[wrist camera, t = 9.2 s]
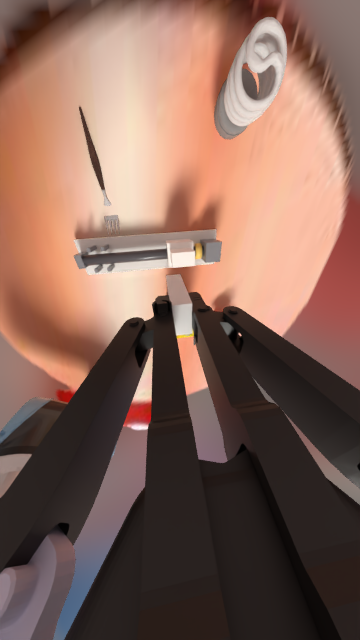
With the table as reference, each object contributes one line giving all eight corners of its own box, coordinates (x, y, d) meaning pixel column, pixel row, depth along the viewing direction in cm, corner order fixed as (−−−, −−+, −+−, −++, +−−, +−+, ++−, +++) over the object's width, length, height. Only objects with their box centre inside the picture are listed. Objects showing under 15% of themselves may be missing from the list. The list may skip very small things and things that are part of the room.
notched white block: (167, 262, 34) (170, 273, 27) (165, 240, 31) (168, 247, 25) (189, 260, 34) (197, 271, 27) (189, 238, 32) (198, 244, 25)
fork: (90, 108, 22) (84, 99, 20) (122, 233, 31) (120, 233, 30) (72, 109, 22) (65, 101, 20) (109, 234, 31) (107, 235, 29)
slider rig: (89, 273, 34) (78, 282, 30) (75, 239, 30) (60, 243, 26) (212, 262, 37) (221, 269, 32) (215, 229, 33) (225, 231, 28)
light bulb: (200, 133, 25) (229, 78, 15) (219, 82, 22) (270, -28, 12) (227, 156, 26) (269, 121, 17) (248, 111, 24) (312, 37, 14)
